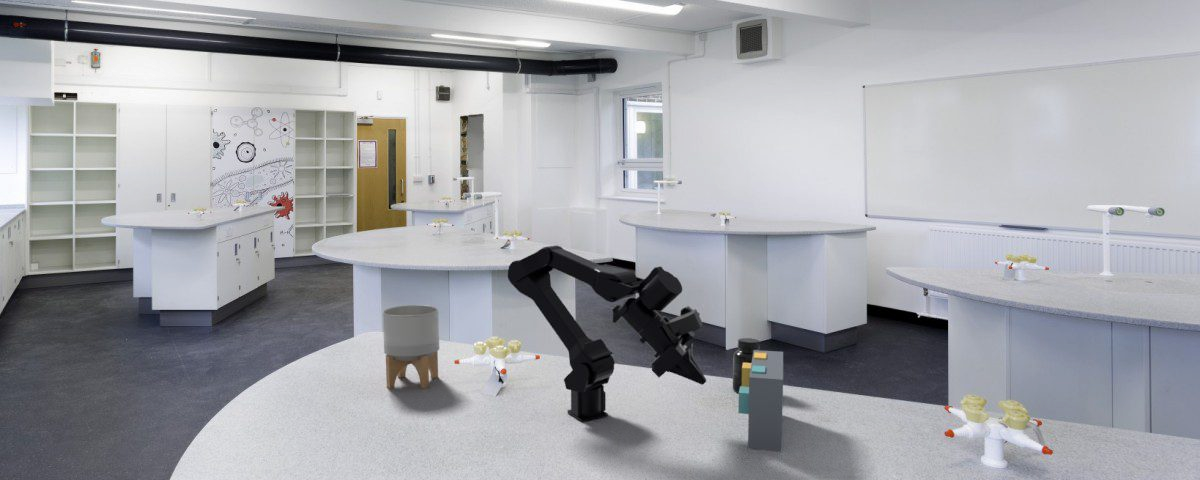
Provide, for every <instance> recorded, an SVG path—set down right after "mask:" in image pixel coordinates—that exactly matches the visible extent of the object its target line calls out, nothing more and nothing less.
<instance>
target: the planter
mask: <svg viewBox="0 0 1200 480" xmlns="http://www.w3.org/2000/svg"><path fill="white" fill-rule="evenodd" d="M439 315H440V314H439V308H438V307H436V306H434V305H425V304H409V305H408V304H407V305H401V306H400V305H399V306H395V307H394V306H393V307H389V308H386V309H384V310H383V311H382V327H383V328H382V329H383V330H382V331H383V353H384V354H385V370H386V371H385V374H386V377H385V378H386V388H387V389H392V388H395V385H396V379H397V378H399V377H400V378H399V379H402V378H401V377H403V378H406V377H405V376H406V374H407V373H406V372H407V367H408V365H412V366H413V367H414V368H415V370H416V372H417V375H418V377H419V382H420V388H421V389H428V388H430V380H429V379H430V378H431V379H436V378H439V359H438V358H439V357H438V354H439V353H438V351H439V350H440V322H439V321H440V319H439ZM429 373H430V374H429Z"/></svg>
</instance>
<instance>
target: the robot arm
mask: <svg viewBox="0 0 1200 480" xmlns="http://www.w3.org/2000/svg"><path fill="white" fill-rule="evenodd" d="M554 270H557V271H559V272H562V273H563V274H565V275H567V276H570V277H572V278H574V279H577V280H579V281H580V282H583V283H585V284H587V285H588V286H590V287H591V288H592V290H593V292H594V293H595V294H597V295H598V296H600V298H602V299H603V300H605V301H607V302H609V303H615V302H618V301H623V300H626V301H625V302H624V303H622V304H621V305H619V304H618V305H616V306H614V308H612V322H613V324H614V323H617V322H618V321H619V320H620V319H621V318H622V320H624V321H625V322H626V324H628V325H629V326H630V327H631V329H633V331H634V332H635V333H636V334H638V336H639V337H640V339H639V342H640V343H642V344H645V343H646V344H647V346H649V347H650V348H651V349H652V351H654V353H655V354H654V357H655V359H654V360H653V362H652V363H651V371H652V372H653V374H655V376H656V377H657V378H661V377H662V376H663V375H664V374H665V373H666V372H667V373H672V374H674V375H676V376H677V375H678V376H680V377H682V378H685V379H688V380H690V381H692V382H695V383H697V384H699V385H702V386H703V385H704V384H705V383H706V382H707V379H706V377H705V375H704V373H703V371H702V369H701V368H700V365H699V364H698V363H697V361H696V359H695V357H694V355H693V349H694V348H693V346H694V342H691V343H690V344H688V346H687V345H686V344H687V343H688V341H690V340H692V339H693V338H694V337H695V334H696V333H694V332H697V331H698V330H700V329H701V328H702V326H703V322H702V319H701V317H700V312H698V310H697V309H692V308H691V307H690V306H685V307H683V308H681V309H680V314H679V315H678V316H676V317H675V318H673V319H670V317H669V316H667V315H663V316H662V315H661V314H660V313H659V312H662V311H663V310H664V309H665V308H667V307H668V305H670V303H672V302H673V301H674V300H675V299H676V298H677V297H678V296H679V295H680V294H682V292H683V286H682V283H681V282H680V280H679V278H677V277H675V276H674V275H673V274H672V273H671V272H669V271H667V270H664V268H663V266H656V267H654V268H653V269H652V270H651V271H650V272H649V274H648V275H647V276H646V277H645V278H641V277H639V276H636V274H635V273H634V272H633V271H631V270H628V269H626V268H621V267H613V266H604V265H601V264H599V263H596V262H593V261H591V260H589V259H587V258H585V257H582V256H580V255H577V254H575V253H573V252H571V251H568V250H566V249H564V248H563V247H562V246H561V245H556V244H555V245H549V246H544V247H542V248H540V249H538V250H537V251H535V252H534V253H531V254H529V255H528V256H526V257H524V258H521V259H518V260H517V259H516V260H513V261H512V262H511V263H510V264H509V266H508V270H507V279H508V281H509V283H510V284H511V285H512V286H513V287H514V288H515V289H516V290H517V291H518V292H519V294H521V295H523V296H525V297H527V298H529V299H530V300H532V302H533V303H534V304H535V306H536V307H537V309H538V310H539V311H540V312H541V314H542V315H543V317H544V318H545V320H546V321H547V323H548V324H549V325H550V327H551V329H553V331H554V332H555V334H556V335H557V337H558V338H559V340H560V341H561V342H562V343H563V344H562V345H563V346H564V347H565V348H566V349H567V351H568V357H569V366H570V367H571V371H570V372H569V373H568V374H567V375H566V376H565V378H563V382H564V386H565V389H566V390H569V391H570V409H568V410H567V411H566V413H567V414H569V415H570V416H571V417H573V418H575V419H577V420H579V421H580V422H586V421H592V420H595V419H596V420H597V419H600V418H606V417H608V415H609V414H608V413H607V412H606V409H607V408H606V405H607V404H606V401H607V400H606V399H607V398H606V395H607V394H606V391H605V387H604V385H606V384H608V383H609V380H610V379H611V378H610V377H611V376H612V375H613V373H614V370H615V359H614V357H613V356H612V355H613V354H614V353H613V352H612V351H611V350H609V348H608V347H607V345H606V343H605V342H604V341H603V339H602V338H598V339H595V340H593V339H591V338H589V337H588V336H587V334H586V333H585V332H584V331H583V329H582V327H581V326H580V325H579V323H578V322H577V320H576V319H575V318H574V316H573V315H572V314H571V312H570V311H569V309H568V308H567V307H566V305H565V304H564V303H563V301H562V300H561V299H560V297H559V296H558V295H557V293H556V292H555V290H554V288H553V286H552V283H551V282H552V281H551V273H550V272H552V271H554ZM636 294H638V297H637V298H636V297H634V296H635V295H636Z"/></svg>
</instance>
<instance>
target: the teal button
mask: <svg viewBox="0 0 1200 480" xmlns="http://www.w3.org/2000/svg"><path fill="white" fill-rule="evenodd" d="M738 414H743V415H749V387H742V386H740V389H739V393H738Z"/></svg>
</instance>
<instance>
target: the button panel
mask: <svg viewBox="0 0 1200 480" xmlns="http://www.w3.org/2000/svg"><path fill="white" fill-rule="evenodd" d="M783 397H784V351H775V350H774V351H773V350H760V349H758V350H754V351H753V357H752V364H751V370H750V376H749V414H748V421H747V422H748V429H747V430H748V431H747V432H748V433H747V449H750V450H760V451H761V450H762V451H772V452H782V444H783V443H782V440H783V438H782V436H783V405H784V402H783V399H784V398H783Z"/></svg>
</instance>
